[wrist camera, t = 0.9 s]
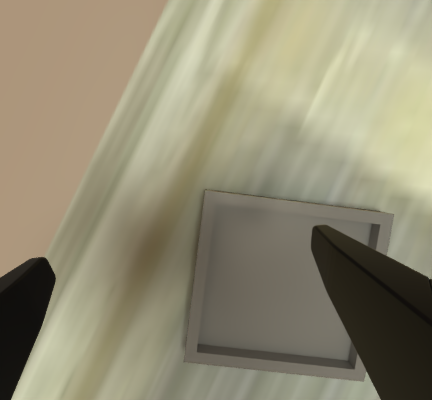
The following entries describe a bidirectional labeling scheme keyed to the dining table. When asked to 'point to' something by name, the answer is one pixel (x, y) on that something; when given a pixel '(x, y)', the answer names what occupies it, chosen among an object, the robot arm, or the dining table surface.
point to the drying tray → (272, 286)
